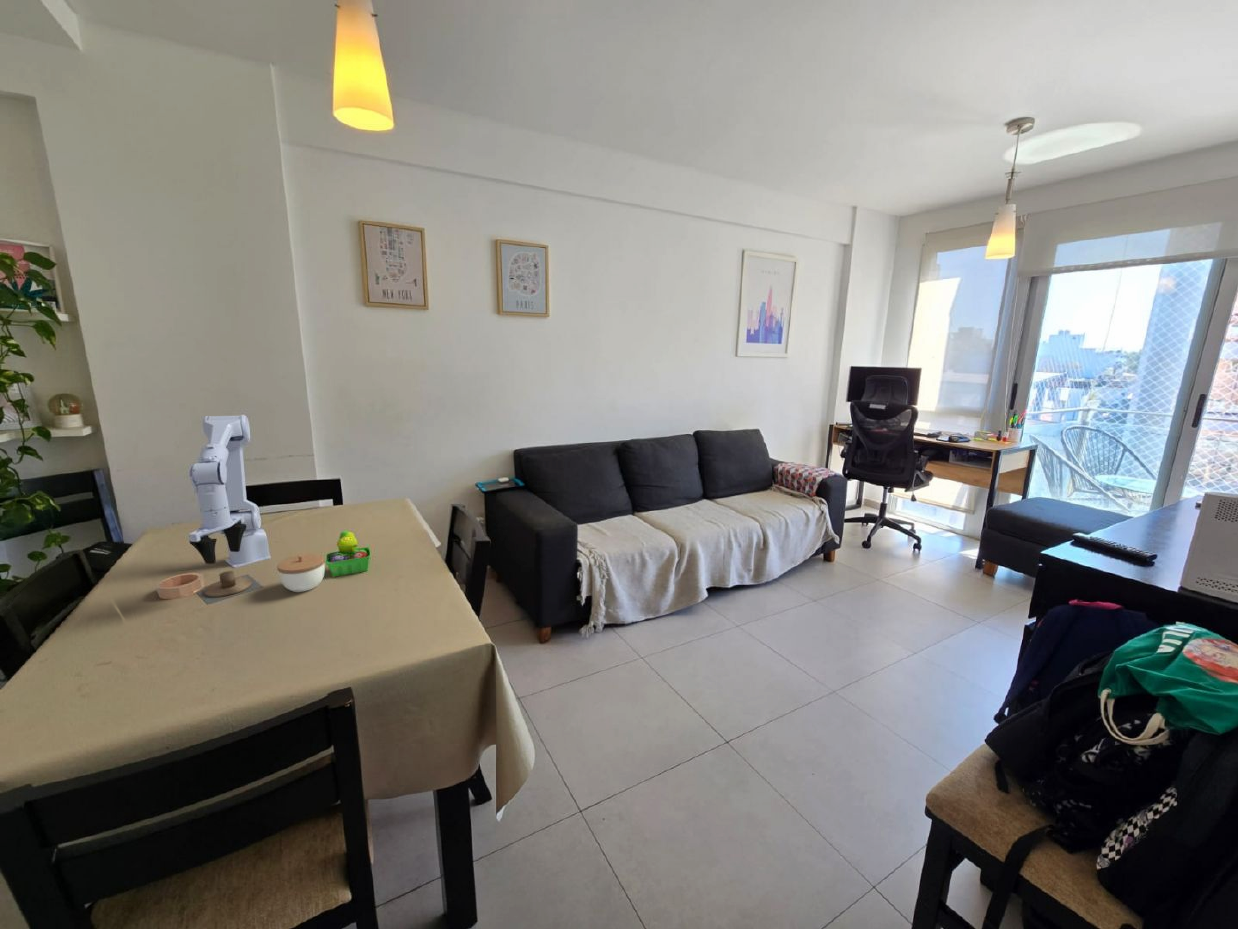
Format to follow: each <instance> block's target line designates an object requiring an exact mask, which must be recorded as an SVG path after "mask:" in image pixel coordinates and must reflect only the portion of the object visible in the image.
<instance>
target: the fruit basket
mask: <svg viewBox="0 0 1238 929" xmlns="http://www.w3.org/2000/svg"><path fill="white" fill-rule="evenodd" d="M338 538H339V539H338V540H337V542H336V546H337V548H338V551H334V552H329V553H327V554H326V557H325V565H326V566H327V567H328V569H329V571H330V574H331V576H332V577H333V578H334V577H339V576H346V575H350V574H352V575H353V574H357V573H358V574H359V573H362V572H368V570H369V565H370V559H371V555H372V554H371V546H370V547H369V546H366V547H359V548H358V544H359V543H358V540H357V539H356V537H355V534H354V533H353V532H351V531H349V530H343V531H342V532H340V535H339V537H338Z"/></svg>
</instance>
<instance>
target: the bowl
mask: <svg viewBox="0 0 1238 929" xmlns="http://www.w3.org/2000/svg"><path fill="white" fill-rule="evenodd" d="M155 587H156V591H157V595H158V597H159V598H160V599H163V600H175V599H181V598H185V597H188V596H190V595H191V596H192V595H193V594H197V593H196V592H198V591H199V590H201V589H202V588H203V587H205V580H204V576H203V575H202V574H201V573H197V572H188V573H183V574H182V573H181V574H177V575H173V576H170V577H168V578H165V579H162V580H160V581H159V582H158V583H157V584H156V585H155Z"/></svg>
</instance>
